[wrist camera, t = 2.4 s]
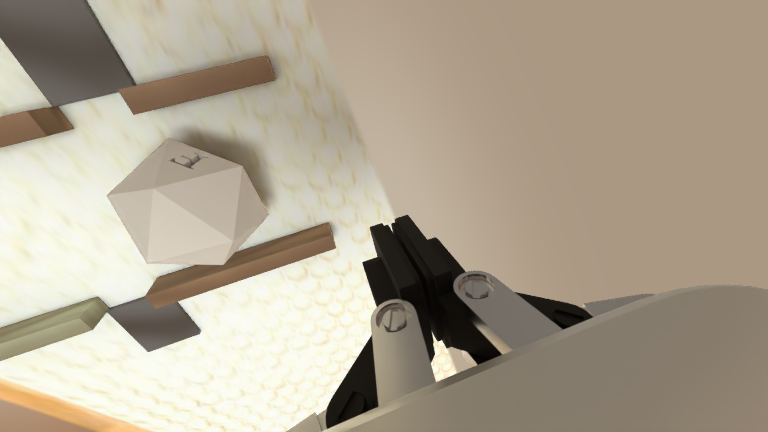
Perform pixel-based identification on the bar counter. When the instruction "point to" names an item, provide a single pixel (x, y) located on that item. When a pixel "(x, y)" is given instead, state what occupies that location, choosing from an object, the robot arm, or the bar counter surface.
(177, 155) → the die
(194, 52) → the bar counter surface
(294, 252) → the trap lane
